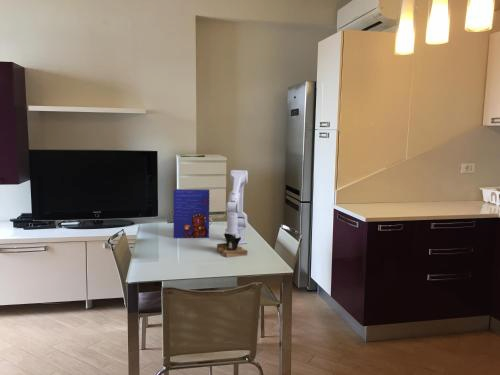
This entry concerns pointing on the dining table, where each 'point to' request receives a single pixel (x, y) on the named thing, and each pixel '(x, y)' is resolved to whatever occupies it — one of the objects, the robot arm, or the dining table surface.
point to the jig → (230, 253)
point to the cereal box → (191, 213)
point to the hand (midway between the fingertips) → (231, 247)
